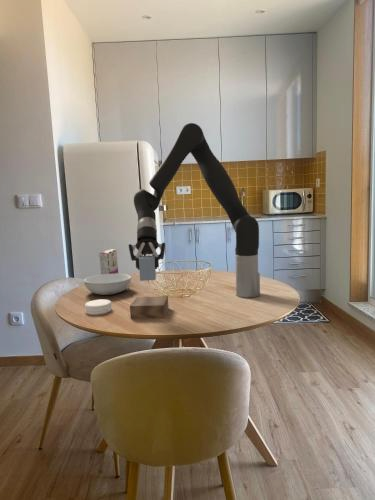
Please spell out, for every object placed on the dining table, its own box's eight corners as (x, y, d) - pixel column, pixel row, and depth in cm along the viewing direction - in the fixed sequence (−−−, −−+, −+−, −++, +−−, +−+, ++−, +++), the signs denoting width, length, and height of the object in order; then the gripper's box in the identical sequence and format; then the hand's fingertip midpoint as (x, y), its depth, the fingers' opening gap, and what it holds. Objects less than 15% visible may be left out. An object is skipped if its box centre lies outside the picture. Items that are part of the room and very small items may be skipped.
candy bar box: (110, 280, 202) (107, 249, 200) (119, 280, 201) (117, 249, 199) (101, 285, 192) (98, 252, 189) (110, 285, 191) (108, 252, 188)
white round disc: (106, 315, 144) (105, 306, 143) (81, 315, 145) (80, 306, 145) (115, 307, 153) (115, 298, 153) (91, 307, 155) (91, 298, 154)
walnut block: (168, 308, 149) (167, 296, 148) (164, 319, 137) (163, 305, 136) (137, 309, 150) (136, 296, 149) (130, 319, 138) (129, 306, 137)
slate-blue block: (155, 276, 144) (154, 255, 143) (155, 279, 139) (154, 257, 138) (141, 277, 144) (139, 256, 143) (140, 280, 139) (138, 258, 138)
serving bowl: (123, 299, 165) (122, 283, 164) (77, 298, 169) (75, 283, 168) (137, 287, 185) (136, 272, 184) (96, 287, 189) (95, 273, 188)
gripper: (127, 226, 146) (126, 263, 136) (165, 224, 147) (167, 261, 137) (129, 238, 152) (128, 275, 142) (165, 237, 153) (167, 273, 143)
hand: (147, 268), depth 139 cm, fingers closed on slate-blue block, 5 cm apart
